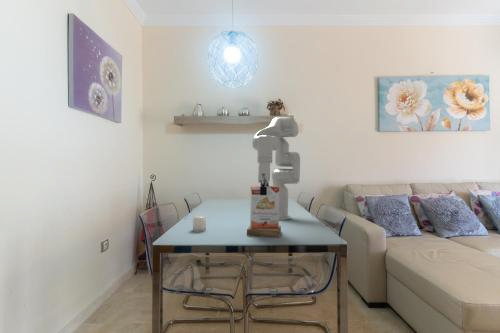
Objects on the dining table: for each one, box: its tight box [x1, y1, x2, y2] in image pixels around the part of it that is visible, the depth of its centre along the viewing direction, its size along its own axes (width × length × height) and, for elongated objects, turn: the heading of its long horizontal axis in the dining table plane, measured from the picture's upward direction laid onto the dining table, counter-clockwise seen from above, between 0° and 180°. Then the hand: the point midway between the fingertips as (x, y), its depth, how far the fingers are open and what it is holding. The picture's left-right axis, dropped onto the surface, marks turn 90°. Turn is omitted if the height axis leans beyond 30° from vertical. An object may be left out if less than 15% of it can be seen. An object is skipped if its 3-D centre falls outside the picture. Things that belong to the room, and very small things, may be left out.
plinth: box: [246, 225, 282, 238], centre depth 153 cm, size 11×16×3 cm
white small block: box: [192, 215, 207, 232], centre depth 160 cm, size 7×7×7 cm
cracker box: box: [249, 185, 280, 228], centre depth 153 cm, size 14×6×21 cm, turn 96°
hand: (264, 193), depth 152 cm, fingers open, 9 cm apart
